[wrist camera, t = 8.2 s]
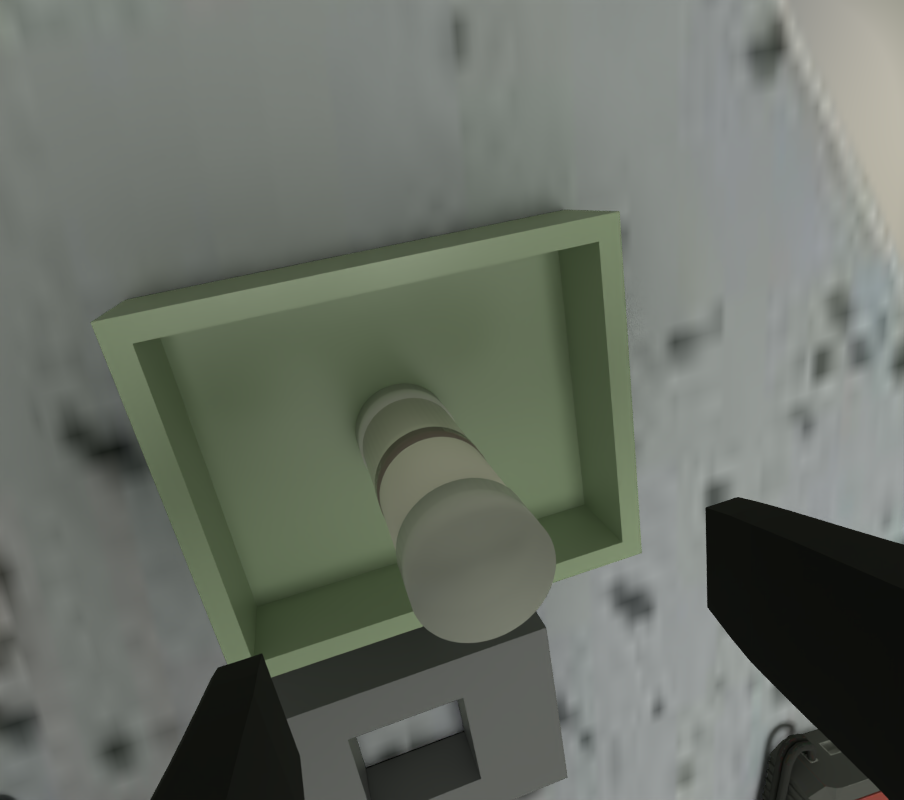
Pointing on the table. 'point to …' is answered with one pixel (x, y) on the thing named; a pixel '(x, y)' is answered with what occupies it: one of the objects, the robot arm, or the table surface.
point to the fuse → (451, 520)
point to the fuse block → (421, 689)
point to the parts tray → (348, 388)
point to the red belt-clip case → (815, 772)
